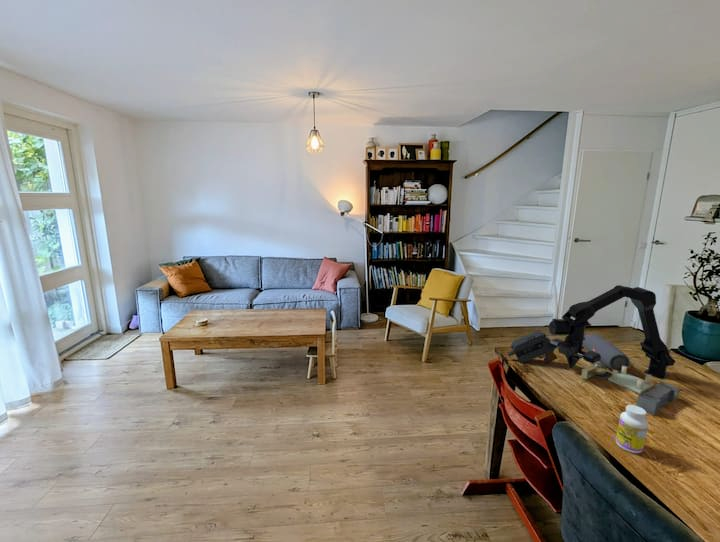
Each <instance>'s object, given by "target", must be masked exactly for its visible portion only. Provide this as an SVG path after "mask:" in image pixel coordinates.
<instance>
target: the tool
mask: <svg viewBox="0 0 720 542" xmlns="http://www.w3.org/2000/svg"><path fill="white" fill-rule="evenodd" d="M551 340H552V339H550V338H549V337H547V335H546V333H545V332H544V331H543V332H542V331H541V330H536V331H534V332H532V333H529V334H526V335H524V336H522V337H519V338H517V339H514V340H513V341H512V342H511V345H509V348H510V349H511V350H510V351H508V352H507V355H508V357H510V356H513V355H515V357H516V359H517V360H518V362H519V363H521V364H522V363H525V362H529V361H531V360H533V359H536V358H538V359H543V360H544V362H545V364H549V363H551V362H553V361H556V360H557V358H558V357H557V355H556V354H555V349H554V348H552V347H549V342H550V341H551Z"/></svg>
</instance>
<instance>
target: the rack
mask: <svg viewBox="0 0 720 542" xmlns="http://www.w3.org/2000/svg"><path fill="white" fill-rule="evenodd" d="M627 371H628V369H627V366H625V365H622V368H621V372H618V371H617V370H612V372H611V373H612V376H611V377H609V378H607V379H608V381H609V382H612V383H614V384H616V385H618V386H621V387H623V388H625V389H628V390H630V391H633V392H636V393H638V394H641V393H645V391H647V390H648V389H650V388H652V387H653V386H654V383H653V382H652V378H653V375H650V374H647V373H646V375H645V379H642V378H640V377H637V376H634V375H633V374H629V373H627Z"/></svg>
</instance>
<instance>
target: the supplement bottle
mask: <svg viewBox="0 0 720 542" xmlns="http://www.w3.org/2000/svg"><path fill="white" fill-rule="evenodd" d="M646 416H647V412H646V411H645V410H644V409H643V408H641V407H638V406H636V404H627V405H626V407H625V411H623V412H621V413H620V417H619V421H618V425H617V430H616V434H615V443H616V444H617V445H618V446H619V447H620V448H621V449H623V450H624V451H626V452H629V453H631V454H640V453H642V452H643V451H644V447H645V442H646V439H647V434H648V430H649V429H648V428H649V422H648V419H646Z"/></svg>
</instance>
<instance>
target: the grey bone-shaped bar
mask: <svg viewBox="0 0 720 542" xmlns="http://www.w3.org/2000/svg"><path fill="white" fill-rule="evenodd" d="M679 389H680V388H679V387H677V386H674V385H672V384H669V383H666V382H664V381H660V382H658V383H657V384H656V387H654V388H653V389H652V390H650V391H648V392H642V393H639V395H638V396H637V400H636V404H635V406H638V407H641V408H643V409H644V410H645V411H646V414H649V415H651V416H655V415H657V414H658V413H659V410H660V409H661V408H662V407H664V406H665V405H666V404H668V403H672V404H673V403H674V402H676V401H677V400H678V398H677V397H678V393H679Z"/></svg>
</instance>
